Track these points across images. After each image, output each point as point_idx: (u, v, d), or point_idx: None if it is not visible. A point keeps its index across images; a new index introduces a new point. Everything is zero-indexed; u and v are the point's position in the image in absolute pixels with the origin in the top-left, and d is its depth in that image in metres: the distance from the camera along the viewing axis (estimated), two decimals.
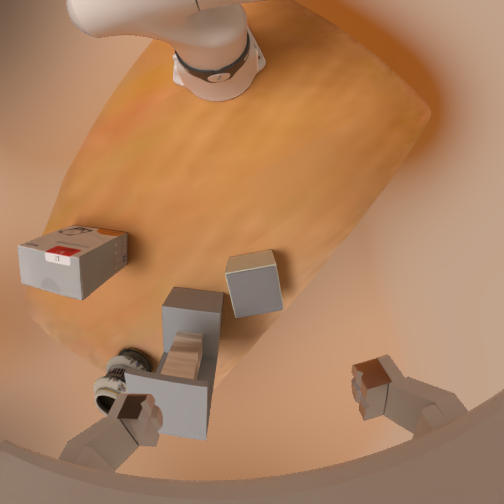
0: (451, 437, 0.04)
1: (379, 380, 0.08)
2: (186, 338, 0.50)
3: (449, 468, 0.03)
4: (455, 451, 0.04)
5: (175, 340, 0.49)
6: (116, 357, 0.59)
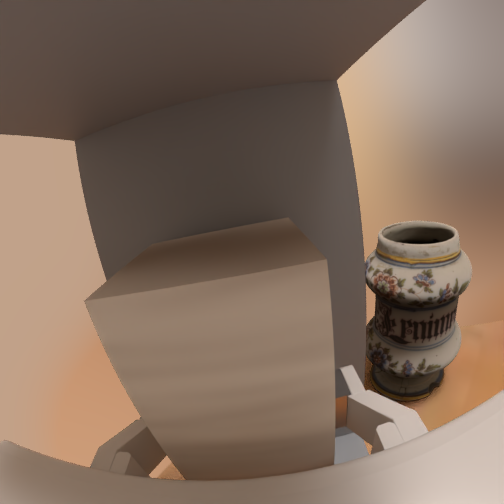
0: (451, 437, 0.04)
1: (338, 392, 0.08)
2: None
3: (449, 468, 0.03)
4: (455, 451, 0.04)
5: None
6: (454, 354, 0.22)
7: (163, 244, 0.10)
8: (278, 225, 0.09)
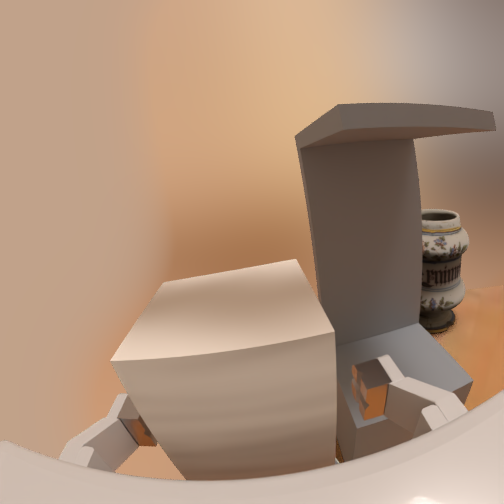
0: (451, 437, 0.04)
1: (379, 380, 0.08)
2: None
3: (449, 468, 0.03)
4: (455, 451, 0.04)
5: None
6: (461, 296, 0.34)
7: (175, 285, 0.10)
8: (287, 271, 0.09)
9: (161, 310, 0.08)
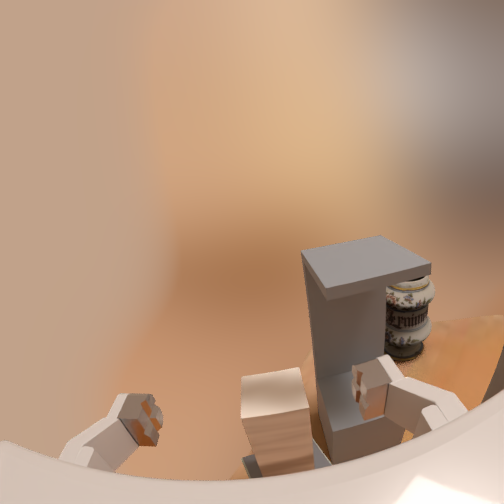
0: (451, 437, 0.04)
1: (379, 380, 0.08)
2: None
3: (449, 468, 0.03)
4: (455, 451, 0.04)
5: None
6: (426, 335, 0.46)
7: (248, 379, 0.22)
8: (295, 376, 0.22)
9: (249, 395, 0.20)
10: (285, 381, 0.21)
